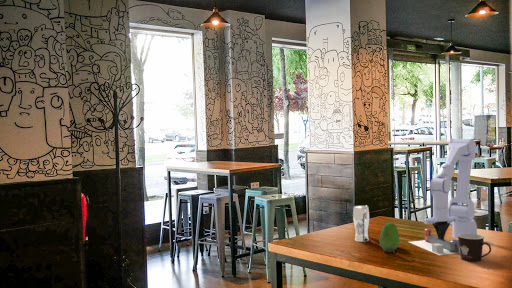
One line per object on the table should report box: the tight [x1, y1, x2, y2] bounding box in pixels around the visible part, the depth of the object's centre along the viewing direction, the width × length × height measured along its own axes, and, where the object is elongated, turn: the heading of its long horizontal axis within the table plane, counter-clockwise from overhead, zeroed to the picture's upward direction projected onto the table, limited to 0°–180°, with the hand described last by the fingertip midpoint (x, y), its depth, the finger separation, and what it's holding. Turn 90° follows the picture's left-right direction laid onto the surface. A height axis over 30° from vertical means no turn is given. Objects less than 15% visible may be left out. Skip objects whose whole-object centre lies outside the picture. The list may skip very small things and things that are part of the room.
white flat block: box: [408, 239, 460, 256], centre depth 197 cm, size 16×22×4 cm
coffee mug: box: [457, 233, 492, 263], centre depth 177 cm, size 12×9×10 cm
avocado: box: [378, 222, 400, 253], centre depth 197 cm, size 8×8×12 cm
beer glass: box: [352, 205, 370, 243], centre depth 217 cm, size 7×7×15 cm
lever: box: [424, 227, 460, 252], centre depth 197 cm, size 21×4×5 cm, turn 14°
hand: (440, 240), depth 200 cm, fingers closed
